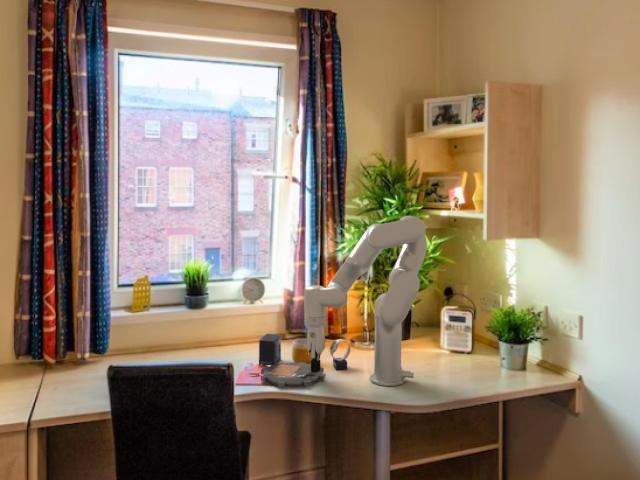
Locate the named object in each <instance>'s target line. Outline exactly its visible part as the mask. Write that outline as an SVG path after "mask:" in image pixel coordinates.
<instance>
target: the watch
mask: <svg viewBox="0 0 640 480" xmlns="http://www.w3.org/2000/svg"><path fill="white" fill-rule="evenodd" d="M342 342H343V343H346V344H347V349H346V352H345V353H344V355H343V357H335V356H334V354H335V352H336V351H337V350H338V348H339V344H341V343H342ZM328 350H329V351H328V352H329V354H330V356H331V357H332V367H333V369H334V370H335V371H346V370H348V361H347V358H349V356H350V354H351V346H350V344H349V342H348V341H347V340H345V339H344V338H343V339H342V338H339V339H335V340H333V341H332V342H331V345H330V347H329V349H328Z"/></svg>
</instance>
